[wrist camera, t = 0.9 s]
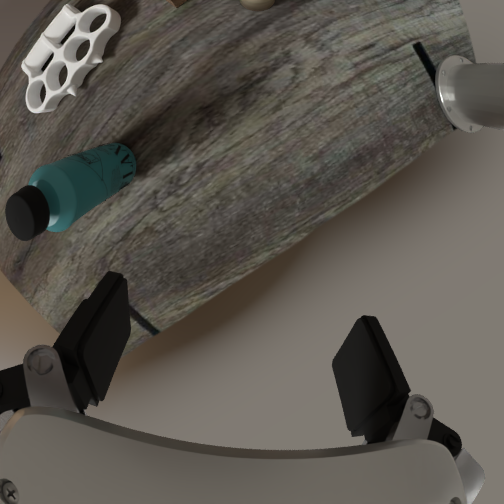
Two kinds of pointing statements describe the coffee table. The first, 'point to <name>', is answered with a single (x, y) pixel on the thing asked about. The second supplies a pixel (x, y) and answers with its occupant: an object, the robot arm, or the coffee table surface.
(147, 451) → the robot arm
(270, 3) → the peg
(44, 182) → the beverage bottle
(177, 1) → the socket block
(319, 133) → the coffee table surface
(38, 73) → the knuckle duster
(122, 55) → the coffee table surface
